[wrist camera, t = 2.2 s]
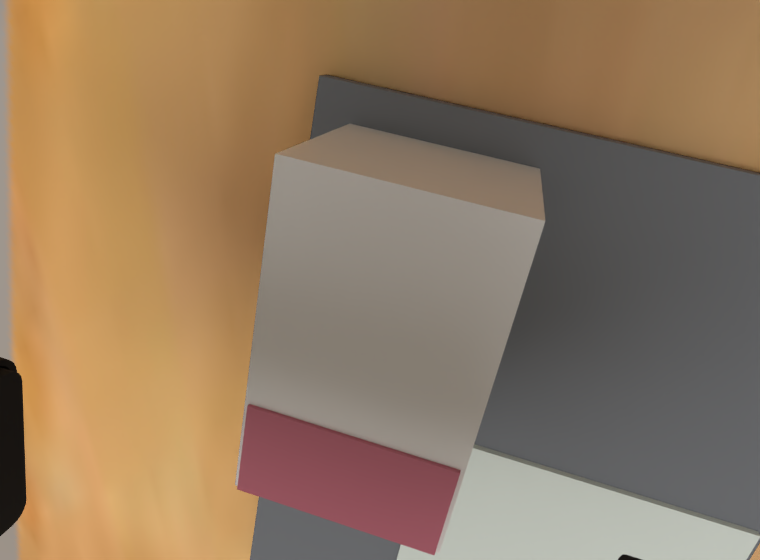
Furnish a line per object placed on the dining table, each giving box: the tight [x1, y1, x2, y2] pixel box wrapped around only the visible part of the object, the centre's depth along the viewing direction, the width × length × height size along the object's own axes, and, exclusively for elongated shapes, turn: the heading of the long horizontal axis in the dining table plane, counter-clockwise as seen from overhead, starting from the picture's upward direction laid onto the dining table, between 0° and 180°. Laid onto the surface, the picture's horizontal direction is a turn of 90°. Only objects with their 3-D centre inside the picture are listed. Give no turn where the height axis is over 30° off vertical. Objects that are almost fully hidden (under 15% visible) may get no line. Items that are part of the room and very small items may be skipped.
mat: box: [250, 75, 760, 560], centre depth 18 cm, size 18×15×1 cm
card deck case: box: [235, 124, 545, 555], centre depth 14 cm, size 8×5×5 cm, turn 169°
